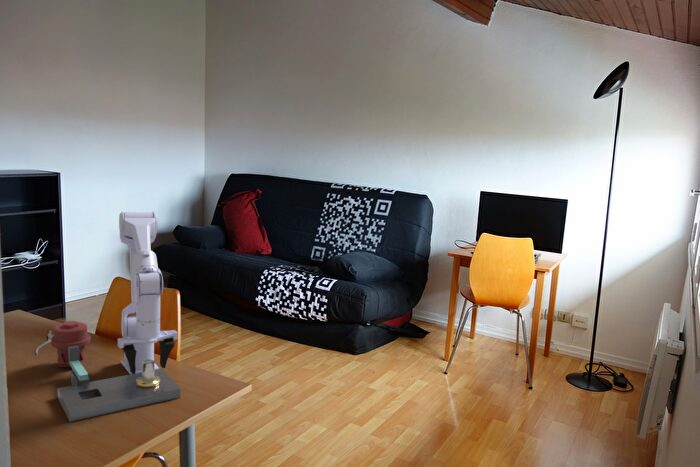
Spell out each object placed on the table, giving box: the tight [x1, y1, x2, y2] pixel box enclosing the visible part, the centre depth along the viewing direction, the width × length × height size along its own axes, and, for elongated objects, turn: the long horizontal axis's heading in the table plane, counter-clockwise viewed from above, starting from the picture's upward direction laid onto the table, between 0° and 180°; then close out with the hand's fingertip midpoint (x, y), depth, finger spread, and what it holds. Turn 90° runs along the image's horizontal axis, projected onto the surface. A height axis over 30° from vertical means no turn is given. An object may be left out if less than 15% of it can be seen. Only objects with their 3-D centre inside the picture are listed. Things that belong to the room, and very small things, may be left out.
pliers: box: [34, 330, 54, 356], centre depth 181 cm, size 10×1×20 cm
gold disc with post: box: [136, 359, 160, 388], centre depth 152 cm, size 6×6×8 cm
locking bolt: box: [68, 345, 89, 381], centre depth 154 cm, size 12×2×5 cm, turn 36°
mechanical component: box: [50, 320, 92, 368], centre depth 165 cm, size 12×10×10 cm
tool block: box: [56, 368, 181, 423], centre depth 152 cm, size 21×26×3 cm
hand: (148, 369), depth 152 cm, fingers open, 7 cm apart
